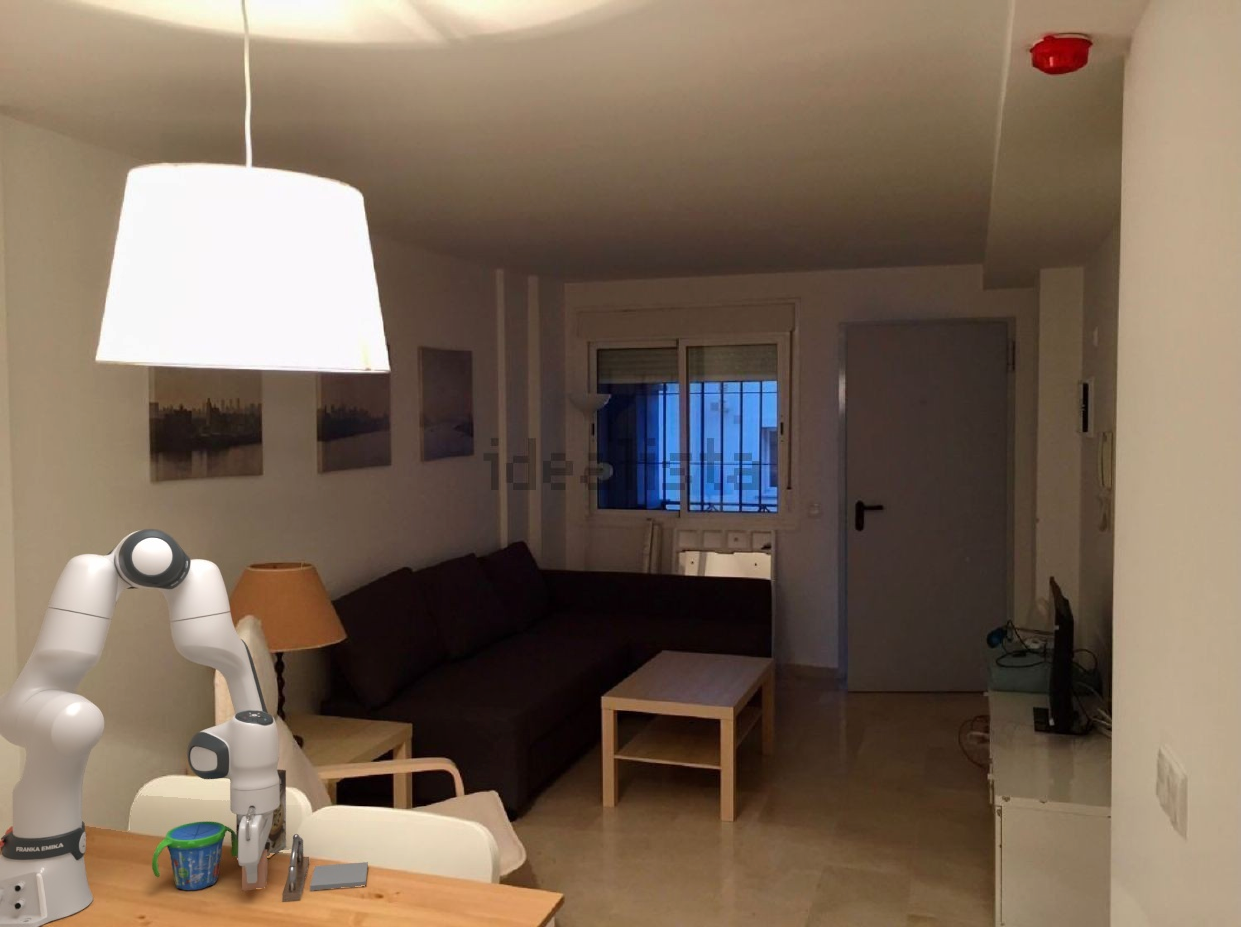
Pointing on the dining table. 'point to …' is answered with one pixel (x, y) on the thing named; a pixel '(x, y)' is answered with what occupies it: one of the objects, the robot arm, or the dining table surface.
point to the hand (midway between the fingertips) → (255, 872)
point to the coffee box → (275, 821)
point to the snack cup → (195, 853)
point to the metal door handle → (296, 871)
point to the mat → (339, 876)
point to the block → (261, 874)
